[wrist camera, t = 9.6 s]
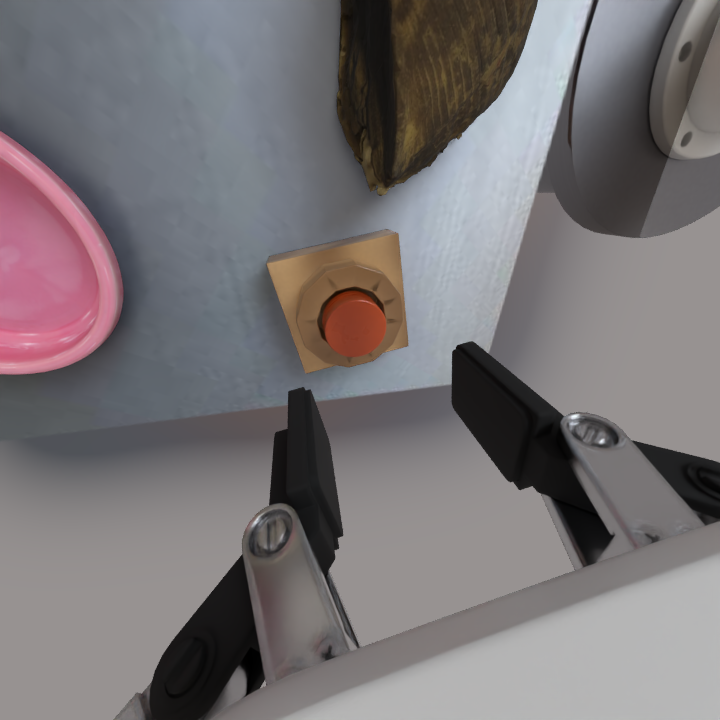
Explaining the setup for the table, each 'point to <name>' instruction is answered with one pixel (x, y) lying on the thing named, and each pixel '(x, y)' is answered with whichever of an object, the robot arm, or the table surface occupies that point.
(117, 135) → the table surface
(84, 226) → the saucer
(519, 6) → the seashell
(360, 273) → the button block
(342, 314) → the button
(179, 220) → the table surface
